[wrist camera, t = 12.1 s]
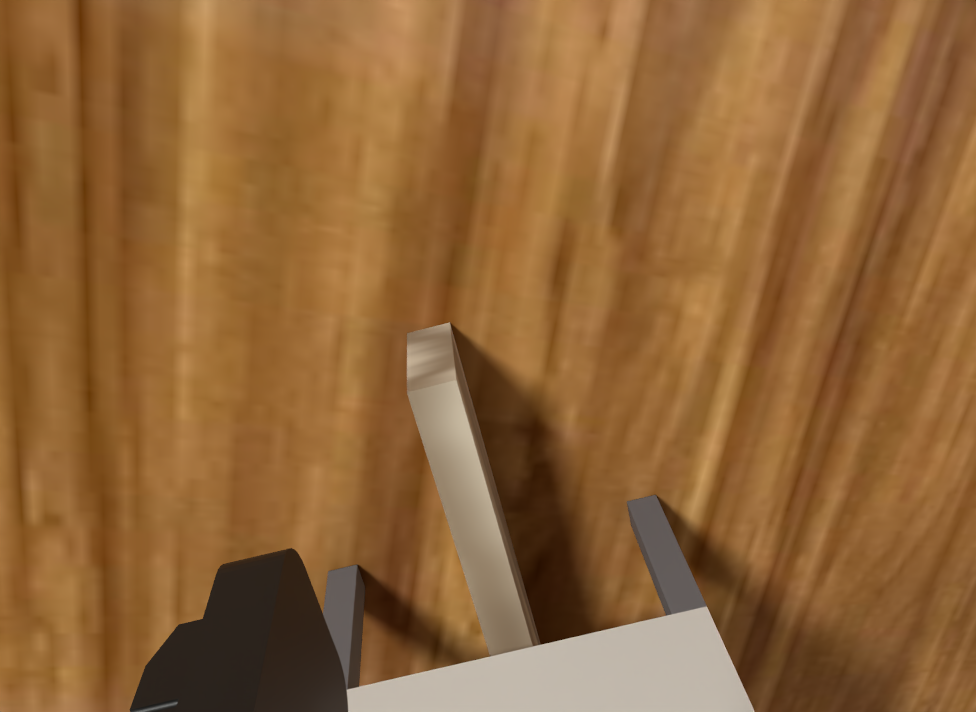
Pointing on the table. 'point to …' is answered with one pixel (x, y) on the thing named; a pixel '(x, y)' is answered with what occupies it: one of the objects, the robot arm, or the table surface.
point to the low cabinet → (567, 653)
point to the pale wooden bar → (468, 489)
